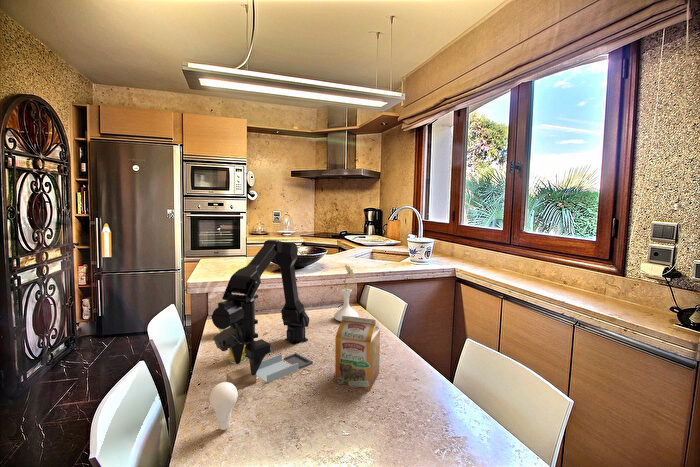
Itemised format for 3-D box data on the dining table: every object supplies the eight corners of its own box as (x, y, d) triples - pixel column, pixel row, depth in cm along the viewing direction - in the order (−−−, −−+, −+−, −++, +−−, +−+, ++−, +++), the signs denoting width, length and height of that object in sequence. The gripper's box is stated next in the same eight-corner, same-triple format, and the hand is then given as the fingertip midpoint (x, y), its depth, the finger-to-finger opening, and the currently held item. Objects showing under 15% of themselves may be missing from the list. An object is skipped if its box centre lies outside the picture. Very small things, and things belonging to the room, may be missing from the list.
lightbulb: (214, 421, 82) (213, 377, 81) (240, 420, 82) (240, 376, 82) (206, 438, 76) (205, 391, 75) (234, 437, 76) (233, 390, 75)
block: (249, 378, 102) (249, 365, 102) (256, 384, 99) (256, 371, 99) (226, 386, 98) (226, 373, 98) (232, 393, 95) (232, 379, 94)
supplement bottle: (243, 355, 117) (243, 328, 116) (248, 361, 113) (248, 333, 112) (227, 359, 114) (227, 331, 113) (231, 366, 110) (231, 337, 109)
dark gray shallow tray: (296, 355, 118) (296, 352, 118) (312, 364, 111) (312, 361, 111) (283, 360, 114) (283, 357, 114) (300, 369, 108) (300, 366, 108)
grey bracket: (281, 361, 114) (280, 353, 113) (298, 371, 107) (298, 363, 107) (251, 372, 106) (251, 364, 106) (267, 384, 99) (267, 375, 99)
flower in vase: (358, 324, 149) (359, 268, 147) (332, 324, 149) (333, 267, 147) (358, 314, 162) (359, 262, 160) (334, 314, 162) (334, 262, 160)
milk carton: (379, 373, 106) (380, 313, 104) (370, 390, 96) (371, 325, 94) (347, 367, 109) (347, 310, 108) (335, 384, 100) (335, 320, 98)
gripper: (202, 315, 98) (204, 367, 100) (233, 333, 85) (234, 392, 87) (238, 307, 106) (239, 355, 108) (271, 322, 93) (272, 377, 95)
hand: (245, 369), depth 99 cm, fingers open, 9 cm apart
